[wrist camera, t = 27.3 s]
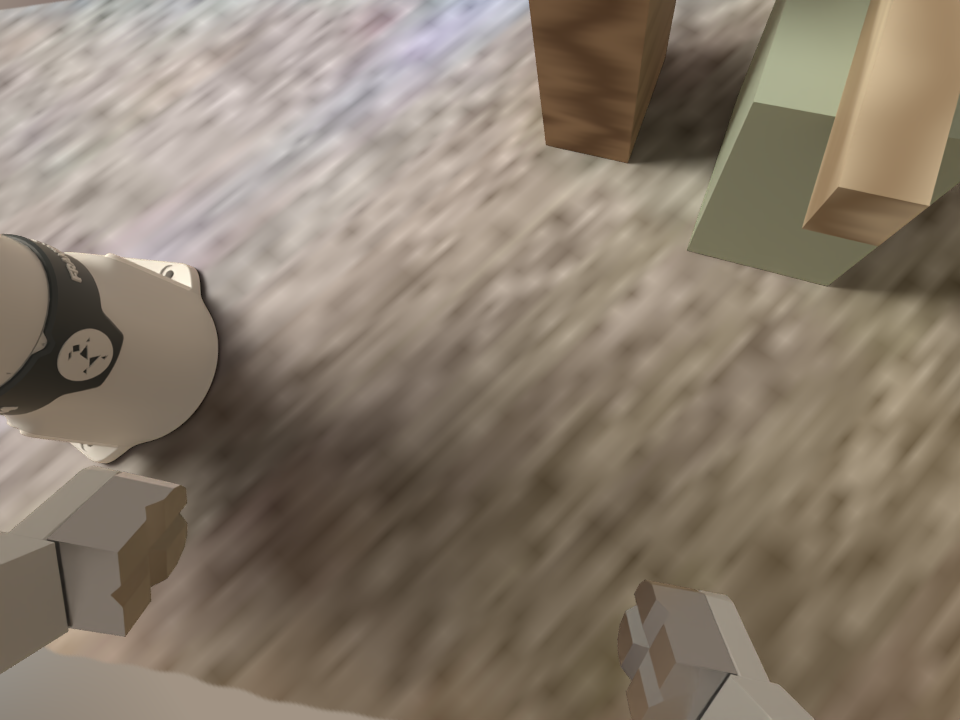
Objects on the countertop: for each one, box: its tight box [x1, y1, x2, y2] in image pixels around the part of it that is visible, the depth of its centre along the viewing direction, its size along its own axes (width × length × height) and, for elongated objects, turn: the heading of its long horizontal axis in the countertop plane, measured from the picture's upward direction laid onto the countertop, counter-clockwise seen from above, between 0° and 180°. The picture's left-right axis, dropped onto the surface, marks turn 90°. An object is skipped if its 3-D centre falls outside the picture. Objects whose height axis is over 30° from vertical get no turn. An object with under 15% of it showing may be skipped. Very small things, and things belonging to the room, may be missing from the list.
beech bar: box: [802, 0, 960, 246], centre depth 22 cm, size 3×20×4 cm, turn 160°
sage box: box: [687, 0, 960, 286], centre depth 33 cm, size 10×14×17 cm
